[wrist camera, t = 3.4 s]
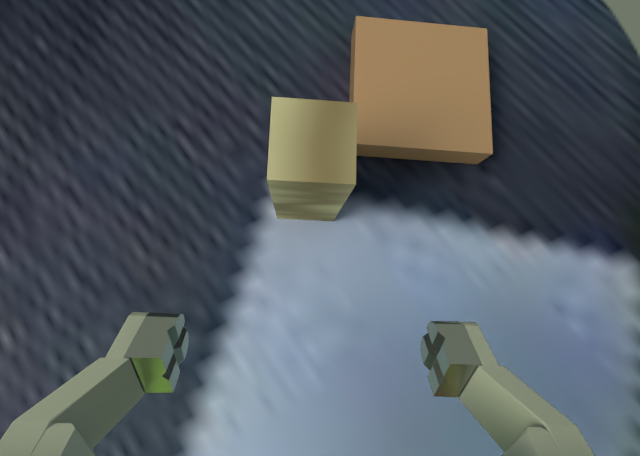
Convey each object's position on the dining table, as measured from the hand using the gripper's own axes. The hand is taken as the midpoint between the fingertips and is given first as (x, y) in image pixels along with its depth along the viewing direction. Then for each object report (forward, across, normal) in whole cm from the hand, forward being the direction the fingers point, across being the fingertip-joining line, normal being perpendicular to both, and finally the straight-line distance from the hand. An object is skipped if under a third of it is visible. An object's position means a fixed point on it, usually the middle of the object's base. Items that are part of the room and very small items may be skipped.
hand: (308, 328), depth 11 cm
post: (+14, 0, +3) cm, 14 cm away
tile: (+20, -8, -3) cm, 22 cm away
